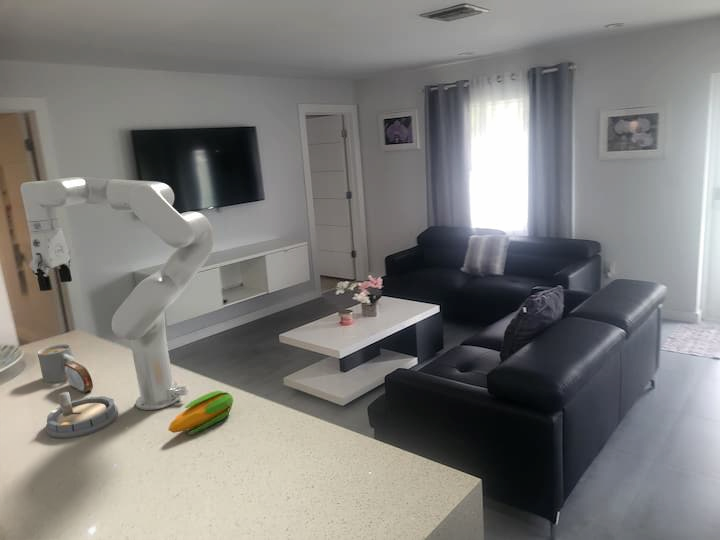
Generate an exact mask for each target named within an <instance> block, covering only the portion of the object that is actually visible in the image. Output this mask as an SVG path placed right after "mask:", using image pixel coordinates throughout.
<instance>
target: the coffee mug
mask: <svg viewBox="0 0 720 540" xmlns="http://www.w3.org/2000/svg"><path fill="white" fill-rule="evenodd" d="M37 357H38V362H39V367H40V371H41V375H42V380H43V382H44V383H47V384H53V383H59V382H64V381H66V380H67V378H66V374H65V370H64V365H65V364H67V363H70V362H72V361H74V362H76V360H75V359H74V357H73V351H72V346H71V345H70V344H69V343H60V344H53V345H50V346H46V347H43V348H42V349H40V350H38V351H37ZM67 381H68V380H67Z"/></svg>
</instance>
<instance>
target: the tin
mask: <svg viewBox="0 0 720 540" xmlns="http://www.w3.org/2000/svg"><path fill="white" fill-rule="evenodd" d="M74 361H75V360H74ZM74 361H72V362H70V363H67V364H65V365H64V370H65V374H66V378H67V382H68V383H69V385H70V387H72V388H74V389H76V390H77V391H79V392H81V393H87V392H89V391H91V390H93V388H94V384H93V379H92V377H91V376H92V375H91V374H90V372H89V371H88V369H87V368H86V367H85V366H84V365H82V364H80V363H78V362H76V361H75V362H74Z"/></svg>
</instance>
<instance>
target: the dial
mask: <svg viewBox="0 0 720 540" xmlns="http://www.w3.org/2000/svg"><path fill="white" fill-rule="evenodd" d="M58 400H59V404H60V406H61V409H62V414H60V415H59V416H58V418H57V423H64V422H70V423H74V422H78V421H82V420H86V419H90V418H92V417H94V416H96V415H98V414H100V413H102V412H104V411H105V410H106V406H105V405H104V404H101V403H88V404H83V405H79V406H76V407H73V408H72V404H71V402H72V400H71V396H70V392H69V391H63V392H61V393H59V394H58Z"/></svg>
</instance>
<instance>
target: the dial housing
mask: <svg viewBox="0 0 720 540" xmlns="http://www.w3.org/2000/svg"><path fill="white" fill-rule="evenodd" d="M88 403H101V404H104V405H105V406H106V410H105V411H104V412H102V413H100V414H98V415H96V416H94V417H92V418H90V419H86V420H82V421H78V422H74V423H70V422H64V423H57V418H58V416H59V415H60V414H62V409H61V405H60V406H58V407H56V408H55V409H53V410H52V411H50V413H48V414H47V416H46V417H47V418H46V425H45V429H46V434H47V435H48V436H49V437H50V438H53V439H58V440H59V439H60V440H61V439H63V440H65V439H73V438H80V437H85V436H88V435H90V434H93V433H96V432H99V431H101V430H102V429H104V428H106V427H108V426H110V425H111V424H112V423H114V422H115V421H116V419H117V418H118V416H119V408H118V406H117V405H116V404H115V401H114V399H113V398H111V397H107V396H89V397H85V398H80V399H75V400H73V401H71V404H72V408H73V407H76V406H79V405H83V404H88Z"/></svg>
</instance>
